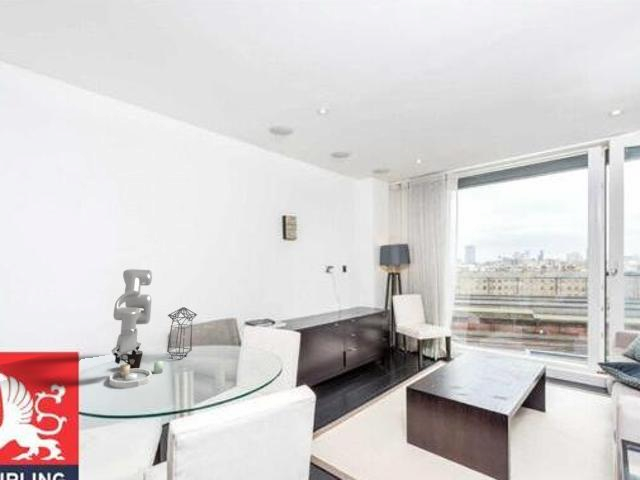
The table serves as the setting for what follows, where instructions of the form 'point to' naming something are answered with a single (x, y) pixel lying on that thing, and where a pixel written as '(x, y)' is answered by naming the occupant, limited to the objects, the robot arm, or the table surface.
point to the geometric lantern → (181, 330)
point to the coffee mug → (134, 362)
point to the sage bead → (158, 367)
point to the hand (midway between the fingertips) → (125, 360)
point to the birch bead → (124, 370)
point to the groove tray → (131, 378)
